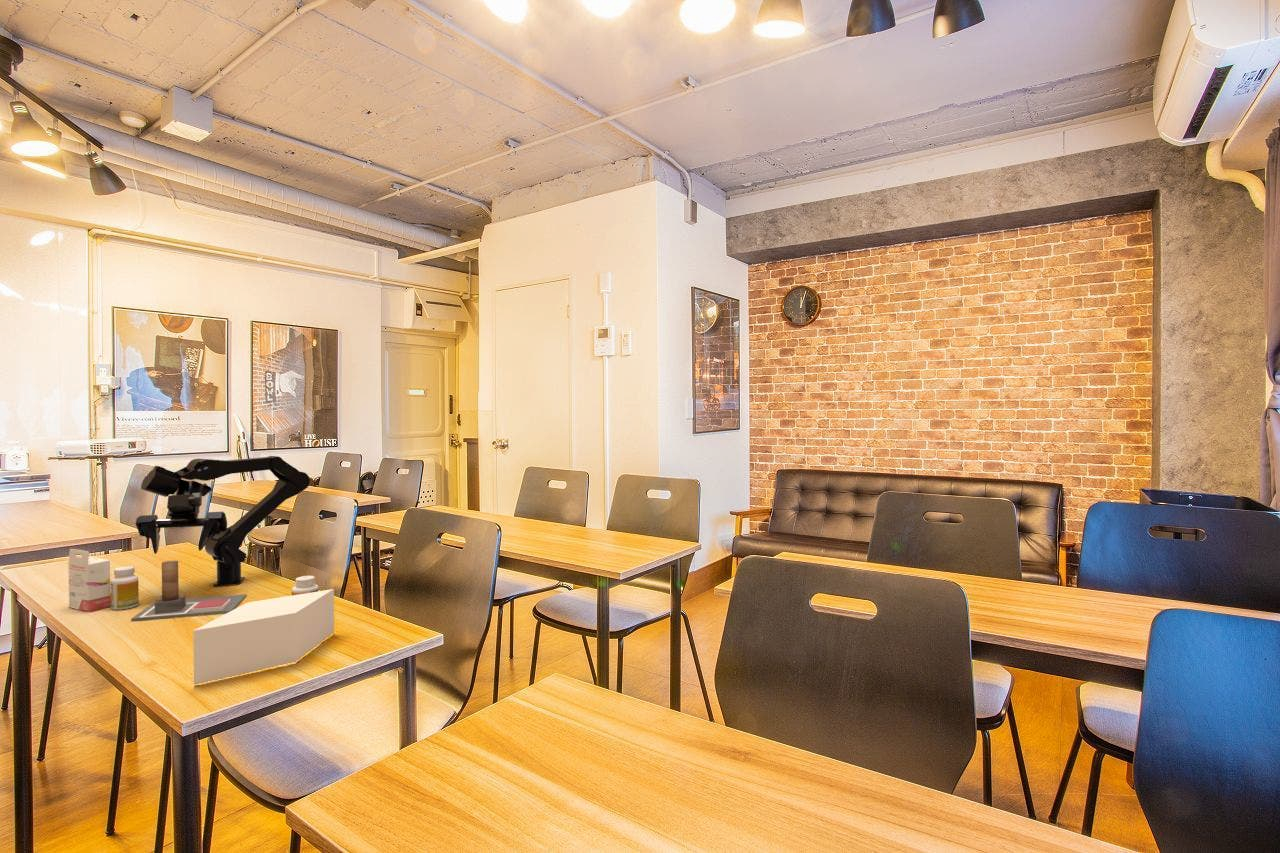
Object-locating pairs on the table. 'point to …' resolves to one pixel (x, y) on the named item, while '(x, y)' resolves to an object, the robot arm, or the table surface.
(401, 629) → the table surface
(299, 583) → the supplement bottle
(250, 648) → the cream slanted prism
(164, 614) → the stamp board
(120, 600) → the supplement bottle
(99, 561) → the ink cartridge box
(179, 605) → the stamp
